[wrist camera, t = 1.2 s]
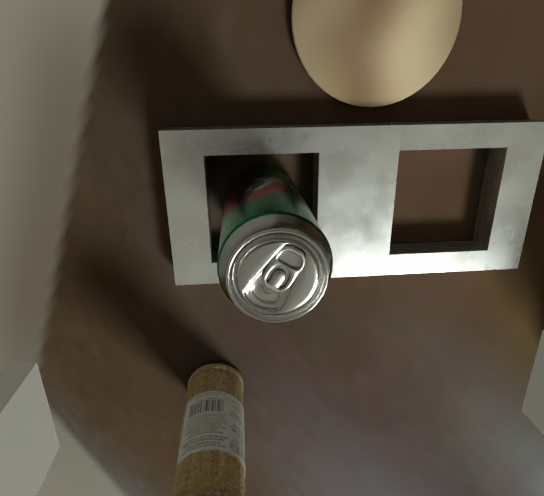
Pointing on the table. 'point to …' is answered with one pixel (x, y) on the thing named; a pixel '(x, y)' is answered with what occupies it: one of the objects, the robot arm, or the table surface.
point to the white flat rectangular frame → (360, 191)
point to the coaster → (373, 45)
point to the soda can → (271, 248)
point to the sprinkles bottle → (212, 435)
